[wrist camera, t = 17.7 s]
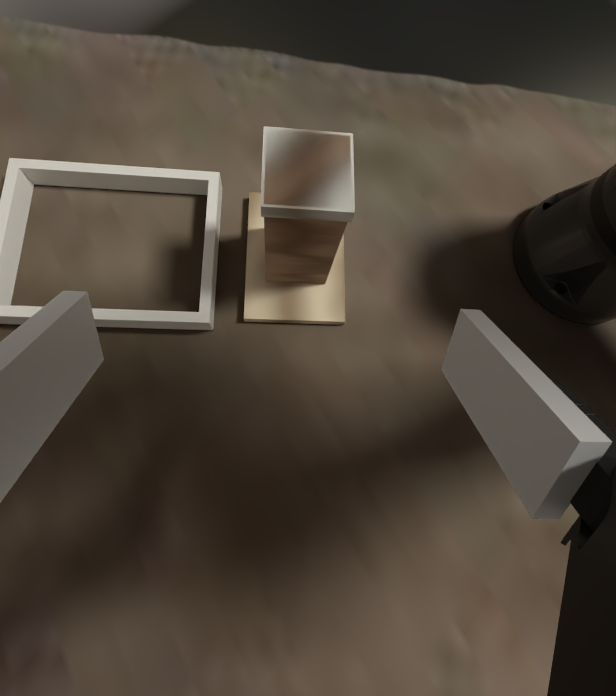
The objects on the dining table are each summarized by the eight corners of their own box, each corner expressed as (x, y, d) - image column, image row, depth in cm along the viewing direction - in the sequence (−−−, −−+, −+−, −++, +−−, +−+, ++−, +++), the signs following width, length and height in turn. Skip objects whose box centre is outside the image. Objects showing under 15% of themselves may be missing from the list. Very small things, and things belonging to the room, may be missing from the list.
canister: (326, 229, 40) (352, 133, 27) (327, 286, 39) (354, 212, 26) (265, 225, 39) (263, 126, 27) (263, 283, 38) (260, 206, 25)
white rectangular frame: (222, 188, 41) (219, 172, 39) (213, 330, 37) (209, 322, 35) (25, 175, 39) (9, 158, 37) (-5, 323, 36) (-25, 315, 33)
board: (341, 203, 42) (342, 198, 41) (343, 324, 39) (345, 321, 38) (250, 197, 41) (249, 192, 40) (244, 321, 38) (243, 318, 37)
